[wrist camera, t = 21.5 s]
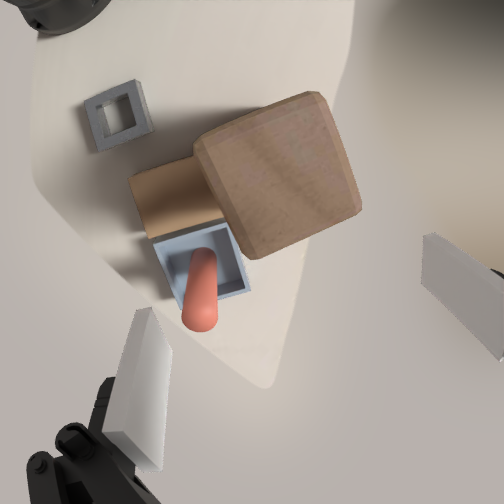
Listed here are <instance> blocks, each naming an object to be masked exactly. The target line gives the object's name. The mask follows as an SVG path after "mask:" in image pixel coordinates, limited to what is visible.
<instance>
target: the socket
mask: <svg viewBox="0 0 504 504" xmlns="http://www.w3.org/2000/svg"><path fill="white" fill-rule="evenodd" d="M126 97H129V100H130V104H131V107H132V111H133V114H134V118H135V121H136V124H137V126H134V127H131V128H129V129H126V130H124V131H121V132H119V133H116V134H114V135H112V136H111V133H110V129H109V126H108V122H107V119H106V115H105V112H104V108H103V107H105V106H107V105H110V104H112V103H114V102H117V101H119V100H121V99H124V98H126ZM84 104H85V108H86V112H87V115H88V119H89V122H90V126H91V129H92V133H93V136H94V139H95V143H96V146H97V149H98V152H100V151H104V150H107V149H110V148H112V147H115V146H117V145H120V144H122V143H125V142H127V141H130V140H132V139H135V138H138V137H140V136H143V135H146V134H148V133H151V132H154V128H153V125H152V121H151V118H150V114H149V111H148V107H147V104H146V100H145V97H144V93H143V90H142V86H141V82H139V81H137V80H136V79H134V80H131V81H129V82H126V83H124V84H121V85H119V86H116V87H114V88H112V89H109V90H107V91H105V92H103V93H100V94H98V95H96V96H94V97H92V98H89V99H87V100H85V101H84Z"/></svg>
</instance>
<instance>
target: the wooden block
mask: <svg viewBox="0 0 504 504" xmlns="http://www.w3.org/2000/svg"><path fill="white" fill-rule="evenodd" d="M193 155H194V157H195V159H196V161H197V163H198V165H199V167H200V169H201V171H202V173H203V175H204V177H205V179H206V181H207V184H208V186H209V188H210V190H211V192H212V194H213V196H214V198H215V200H216V202H217V204H218V206H219V208H220V210H221V212H222V214H223V216H224V218H225V220H226V222H227V224H228V226H229V228H230V230H231V232H232V234H233V236H234V238H235V240H236V242H237V244H238V246H239V248H240V250H241V252H242V253H243V254H244V255H245V256H246V257H247V258H249V259H250V260H256V259H261V258H263V257H265V256H267V255H269V254H272V253H274V252H276V251H278V250H281V249H283V248H285V247H287V246H289V245H292V244H294V243H296V242H298V241H300V240H303V239H305V238H307V237H309V236H311V235H313V234H316V233H318V232H320V231H322V230H324V229H326V228H329V227H331V226H333V225H335V224H337V223H339V222H342V221H344V220H346V219H348V218H350V217H353V216H355V215H357V214H358V213H359V212H360V211H361V210H362V201H361V197H360V194H359V191H358V188H357V184H356V181H355V178H354V175H353V172H352V169H351V166H350V163H349V160H348V157H347V154H346V151H345V149H344V146H343V143H342V141H341V138H340V135H339V132H338V130H337V127H336V124H335V122H334V119H333V116H332V114H331V111H330V109H329V106H328V104H327V101H326V99H325V98H324V97H323V96H322V95H321V94H320V93H319V92H315V91H307V92H304V93H301V94H298V95H295V96H292V97H290V98H287V99H284V100H281V101H279V102H276V103H273V104H271V105H268V106H266V107H263V108H261V109H258V110H256V111H253V112H251V113H249V114H246V115H244V116H241V117H239V118H237V119H235V120H232V121H230V122H228V123H225V124H223V125H221V126H219V127H217V128H214V129H212V130H210V131H208V132H206V133H204V134H202V135H200V137H199V138H198V139H197V140H196V141H195V142H194V143H193Z"/></svg>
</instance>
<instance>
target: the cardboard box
mask: <svg viewBox="0 0 504 504" xmlns="http://www.w3.org/2000/svg"><path fill="white" fill-rule="evenodd" d="M128 181H129V185H130V188H131V191H132V194H133V197H134V200H135V202H136V205H137V208H138V211H139V214H140V217H141V220H142V222H143V225H144V228H145V231H146V233H147V236H148V239H150V238H153V237H156V236H160V235H163V234H167V233H170V232H173V231H177V230H180V229H184V228H187V227H190V226H194V225H197V224H201V223H204V222H208V221H211V220H215V219H219V218H222V217H224V216H223V214H222V212H221V210H220V208H219V206H218V204H217V202H216V200H215V198H214V196H213V194H212V192H211V190H210V188H209V186H208V184H207V181H206V179H205V177H204V175H203V173H202V171H201V169H200V167H199V165H198V163H197V161H196V159H195V157H194V155H193V156H190V157H186V158H183V159H180V160H176V161H173V162H170V163H167V164H164V165H161V166H158V167H155V168H152V169H149V170H146V171H143V172H140V173H137V174H135V175H133V176H131V177H130V178H128Z"/></svg>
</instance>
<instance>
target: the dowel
mask: <svg viewBox="0 0 504 504" xmlns="http://www.w3.org/2000/svg"><path fill="white" fill-rule="evenodd" d="M181 317H182V322H183V324H184V325H185V326H186V327H187V328H188V329H190V330H192V331H195V332H206V331H209V330H211V329H212V328H213V327H214V326H215V325H216V323H217V320H218V306H217V256H216V254H215V252H214V251H213V250H212V249H210V248H207V247H200V248H198V249H196V250H195V251H194V252H193V253H192V255H191V260H190V266H189V272H188V278H187V284H186V290H185V296H184V303H183V309H182V316H181Z"/></svg>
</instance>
